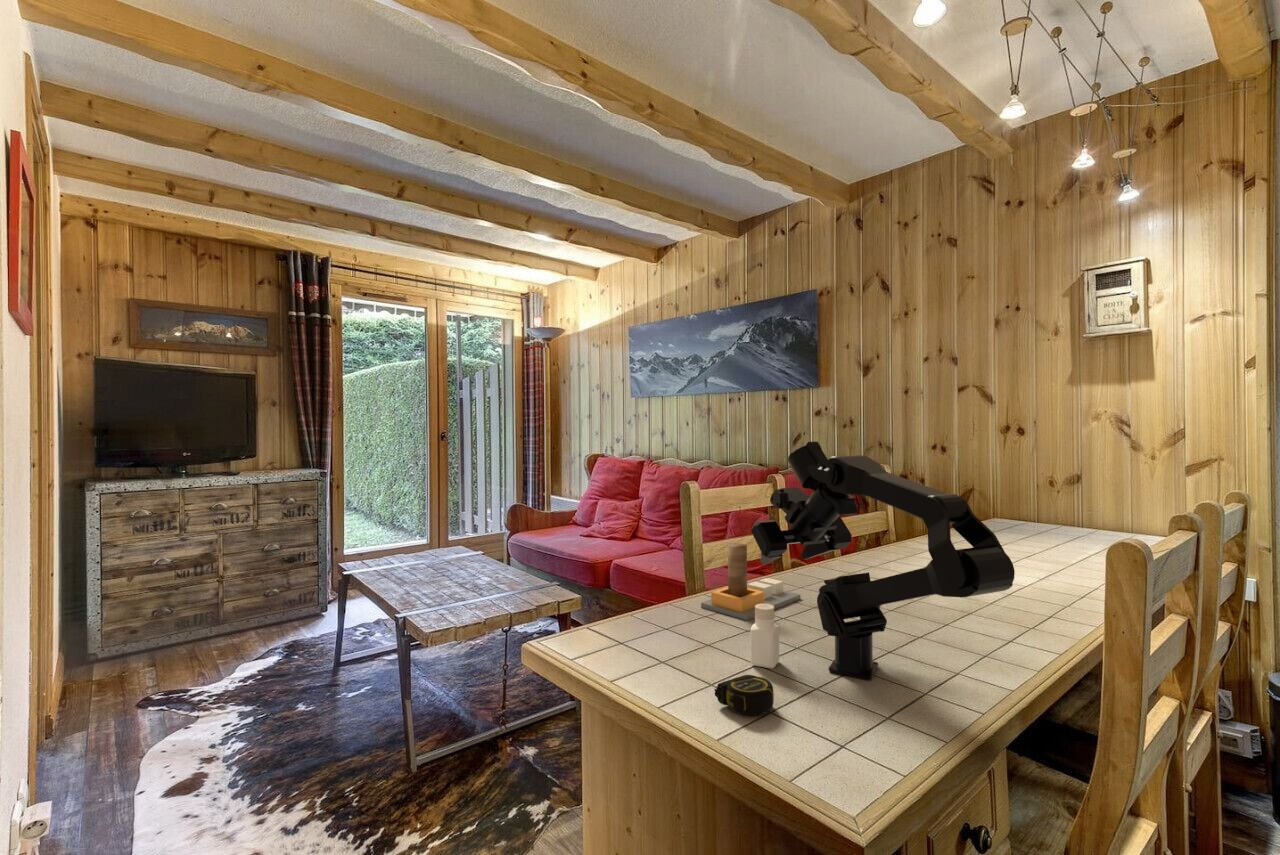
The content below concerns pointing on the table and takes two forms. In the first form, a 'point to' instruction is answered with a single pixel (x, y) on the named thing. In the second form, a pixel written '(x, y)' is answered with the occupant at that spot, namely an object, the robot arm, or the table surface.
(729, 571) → the peg
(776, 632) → the pepper shaker
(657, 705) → the table surface
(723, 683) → the tape measure
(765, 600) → the multicoloured piece
